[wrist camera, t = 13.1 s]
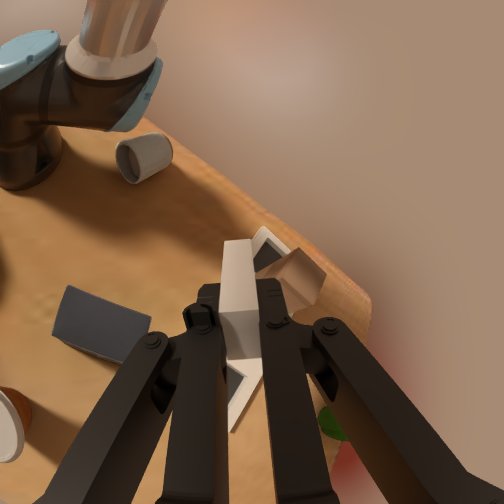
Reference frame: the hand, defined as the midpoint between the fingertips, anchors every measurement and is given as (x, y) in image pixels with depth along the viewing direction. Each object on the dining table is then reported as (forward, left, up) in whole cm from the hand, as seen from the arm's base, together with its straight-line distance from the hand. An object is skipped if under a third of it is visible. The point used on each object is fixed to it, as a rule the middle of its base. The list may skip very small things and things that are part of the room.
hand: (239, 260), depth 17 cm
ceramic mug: (-29, +1, -28) cm, 40 cm away
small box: (0, -8, -28) cm, 29 cm away
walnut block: (-1, +19, -26) cm, 32 cm away
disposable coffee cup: (+9, -25, -28) cm, 38 cm away
